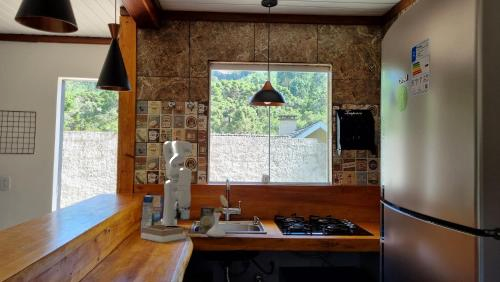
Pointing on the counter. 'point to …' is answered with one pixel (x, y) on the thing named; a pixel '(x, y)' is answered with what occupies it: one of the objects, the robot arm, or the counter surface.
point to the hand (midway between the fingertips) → (181, 217)
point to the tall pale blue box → (183, 214)
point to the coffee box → (206, 219)
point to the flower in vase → (216, 230)
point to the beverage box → (151, 211)
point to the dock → (162, 233)
